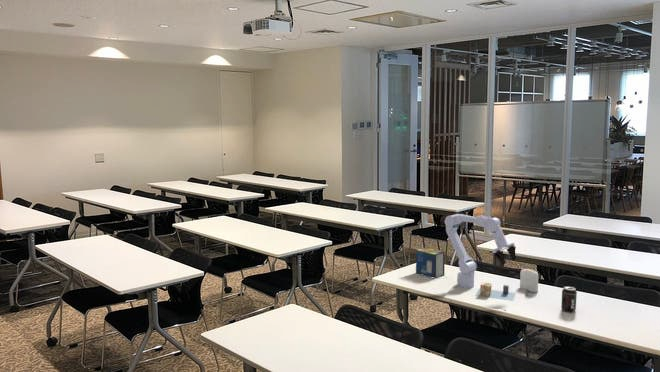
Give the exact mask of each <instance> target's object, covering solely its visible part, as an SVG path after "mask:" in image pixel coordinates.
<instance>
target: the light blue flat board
mask: <svg viewBox="0 0 660 372" xmlns="http://www.w3.org/2000/svg"><path fill="white" fill-rule="evenodd" d="M516 294H517V293H516V292H512V291H510V292H509V291H508V295H505V294H503V290H496V289H491V295H490V297H488V296H480V287H479V288H478V290H477V292H476V293H475V295H474V296H475V297H481V298H491V299H496V300H505V301H513V302H514V300H515V297H516Z"/></svg>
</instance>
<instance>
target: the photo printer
mask: <svg viewBox="0 0 660 372" xmlns="http://www.w3.org/2000/svg"><path fill="white" fill-rule="evenodd" d="M519 278H520V279H519V289H520V290H521V289H523V290H526V291H528V292H532V293H537V292H538V291H539V273H538V272H537V271H536V270H533V269H529V268H523V269H521V270H520V275H519Z"/></svg>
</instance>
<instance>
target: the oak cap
mask: <svg viewBox="0 0 660 372" xmlns="http://www.w3.org/2000/svg"><path fill="white" fill-rule="evenodd" d="M479 288H480V296H479V297H481V296H488V297H487V298H489V297H490V295H491V290H492V283H491V282H481V283H480V287H479Z"/></svg>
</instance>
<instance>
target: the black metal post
mask: <svg viewBox="0 0 660 372" xmlns="http://www.w3.org/2000/svg"><path fill="white" fill-rule="evenodd" d="M502 287H503V288H502V291H503V294H505V295H508V292H509V290H510V289H509V288H510V287H509V285H507V284H504V285H503V286H502Z"/></svg>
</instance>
